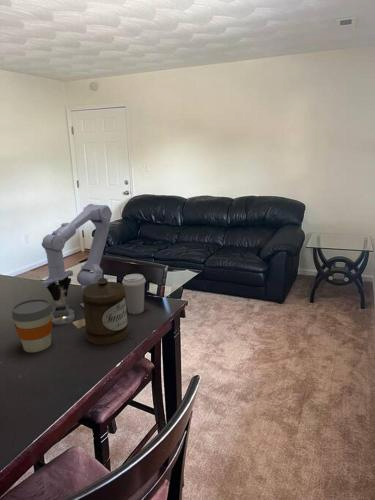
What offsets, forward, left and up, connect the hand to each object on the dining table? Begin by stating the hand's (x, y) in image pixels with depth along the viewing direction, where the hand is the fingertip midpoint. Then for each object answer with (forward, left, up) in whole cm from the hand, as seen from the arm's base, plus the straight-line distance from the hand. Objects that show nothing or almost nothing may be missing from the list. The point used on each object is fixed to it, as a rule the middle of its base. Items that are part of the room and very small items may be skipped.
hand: (60, 298), depth 144 cm
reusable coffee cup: (+14, +14, -10) cm, 22 cm away
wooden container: (-9, +23, -10) cm, 26 cm away
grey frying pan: (+4, -1, -9) cm, 10 cm away
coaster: (-5, +9, -9) cm, 14 cm away
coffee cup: (-27, +12, -10) cm, 31 cm away
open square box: (+1, +1, -7) cm, 7 cm away
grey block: (0, 0, -2) cm, 2 cm away
